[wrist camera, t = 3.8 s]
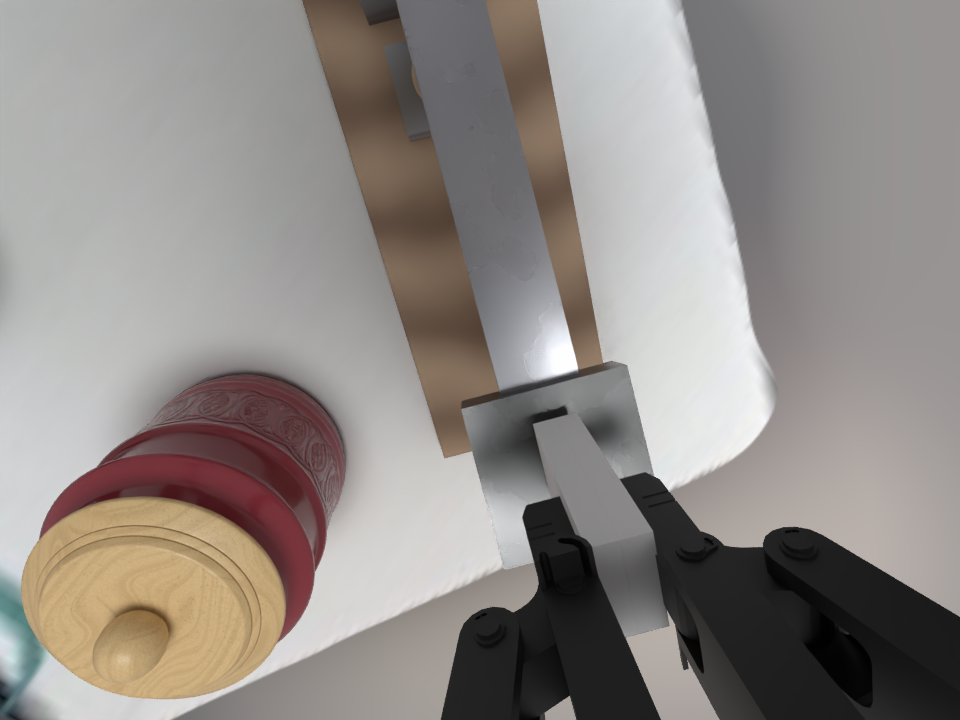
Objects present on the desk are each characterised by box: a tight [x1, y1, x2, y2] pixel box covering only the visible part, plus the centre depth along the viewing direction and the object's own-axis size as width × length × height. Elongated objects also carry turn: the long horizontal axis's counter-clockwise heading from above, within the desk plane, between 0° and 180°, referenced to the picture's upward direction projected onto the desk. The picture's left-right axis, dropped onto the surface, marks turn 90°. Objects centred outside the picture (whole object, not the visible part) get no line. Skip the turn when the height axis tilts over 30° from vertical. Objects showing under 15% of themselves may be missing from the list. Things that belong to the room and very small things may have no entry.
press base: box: [302, 0, 603, 458], centre depth 27 cm, size 32×12×14 cm, turn 14°
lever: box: [396, 0, 654, 570], centre depth 19 cm, size 26×6×3 cm, turn 14°
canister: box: [21, 374, 345, 699], centre depth 29 cm, size 13×13×18 cm
